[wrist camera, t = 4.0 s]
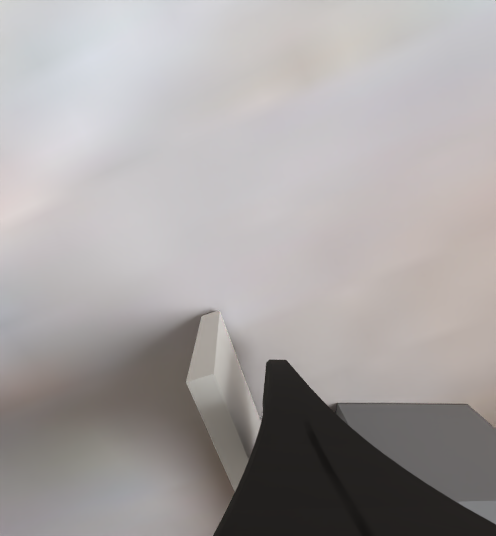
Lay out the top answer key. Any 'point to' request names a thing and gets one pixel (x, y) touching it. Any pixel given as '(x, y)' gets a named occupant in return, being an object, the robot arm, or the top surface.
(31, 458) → the top surface
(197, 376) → the door
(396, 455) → the block
